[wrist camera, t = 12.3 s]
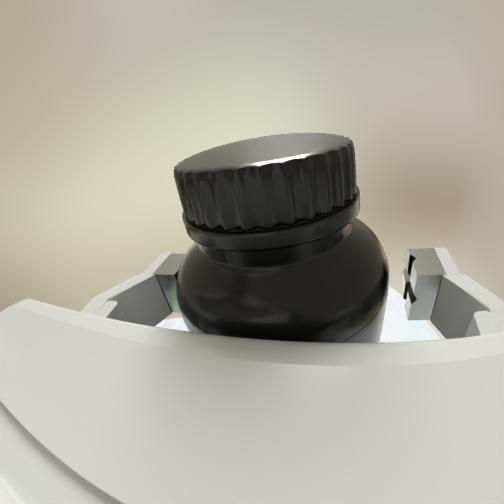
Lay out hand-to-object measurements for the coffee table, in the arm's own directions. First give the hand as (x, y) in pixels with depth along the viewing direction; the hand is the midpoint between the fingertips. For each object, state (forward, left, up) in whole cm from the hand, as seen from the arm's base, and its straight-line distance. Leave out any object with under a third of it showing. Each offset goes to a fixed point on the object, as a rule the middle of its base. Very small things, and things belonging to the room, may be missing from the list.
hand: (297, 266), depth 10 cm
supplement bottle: (0, -1, -8) cm, 8 cm away
